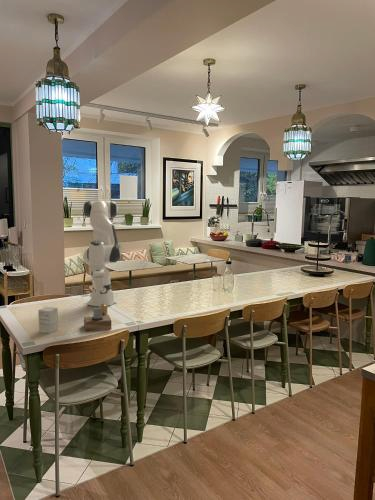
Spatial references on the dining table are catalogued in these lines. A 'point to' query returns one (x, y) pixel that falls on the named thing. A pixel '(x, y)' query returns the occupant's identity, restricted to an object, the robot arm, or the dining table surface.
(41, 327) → the supplement box
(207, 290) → the dining table surface
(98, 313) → the square bit
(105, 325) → the socket block
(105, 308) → the round bit
